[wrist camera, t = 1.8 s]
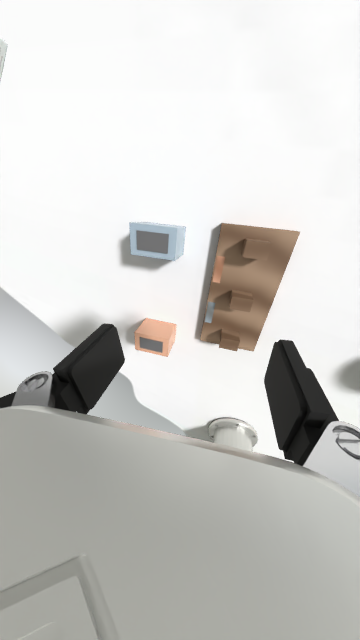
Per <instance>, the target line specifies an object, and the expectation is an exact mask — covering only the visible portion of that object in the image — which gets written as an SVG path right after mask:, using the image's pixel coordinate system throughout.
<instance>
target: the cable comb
mask: <svg viewBox="0 0 360 640" xmlns="http://www.w3.org/2000/svg"><path fill="white" fill-rule="evenodd" d="M299 234H300V232H298V231H290V230H281V229H272V228H263V227H254V226H244V225H235V224H226V223H222V225H221V230H220V236H219V241H218V246H217V252H216V257H215V263H214V268H213V273H212V279H211V284H210V290H209V295H208V300H207V306H206V311H205V316H204V322H203V327H202V333H201V338H200V340H202V341H207V342H211V343H216V344H219V348H224V349H229V350H233V351H237V349H238V348H239V349H244V350H249V351H254V349H255V346H256V343H257V341H258V338H259V336H260V333H261V331H262V328H263V326H264V323H265V320H266V318H267V315H268V313H269V310H270V308H271V305H272V303H273V300H274V297H275V295H276V292H277V290H278V287H279V285H280V282H281V280H282V277H283V274H284V272H285V269H286V267H287V264H288V262H289V259H290V257H291V254H292V251H293V249H294V246H295V244H296V241H297V239H298V236H299Z"/></svg>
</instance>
